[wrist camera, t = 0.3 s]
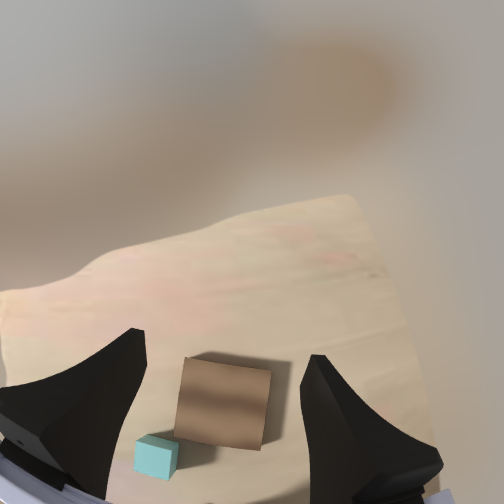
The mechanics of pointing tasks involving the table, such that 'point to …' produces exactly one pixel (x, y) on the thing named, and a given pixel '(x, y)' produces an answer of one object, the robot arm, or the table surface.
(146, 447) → the teal cube
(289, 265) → the table surface
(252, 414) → the walnut plinth
